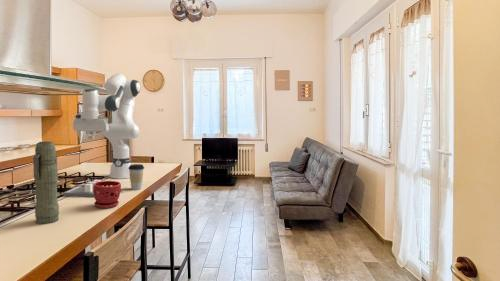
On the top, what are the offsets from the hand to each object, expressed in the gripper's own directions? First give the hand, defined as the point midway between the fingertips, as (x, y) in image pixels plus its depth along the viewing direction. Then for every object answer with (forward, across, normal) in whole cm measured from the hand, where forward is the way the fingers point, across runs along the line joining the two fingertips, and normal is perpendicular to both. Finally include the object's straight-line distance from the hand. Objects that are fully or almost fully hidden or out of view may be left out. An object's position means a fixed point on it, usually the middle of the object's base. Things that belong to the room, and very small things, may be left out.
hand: (91, 138), depth 203 cm
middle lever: (+29, -5, +9) cm, 31 cm away
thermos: (+31, -7, +58) cm, 66 cm away
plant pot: (+31, -23, +33) cm, 51 cm away
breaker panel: (+31, -1, +9) cm, 33 cm away
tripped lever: (+29, -5, +15) cm, 33 cm away
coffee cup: (+31, -26, -4) cm, 41 cm away
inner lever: (+29, -5, +4) cm, 30 cm away
